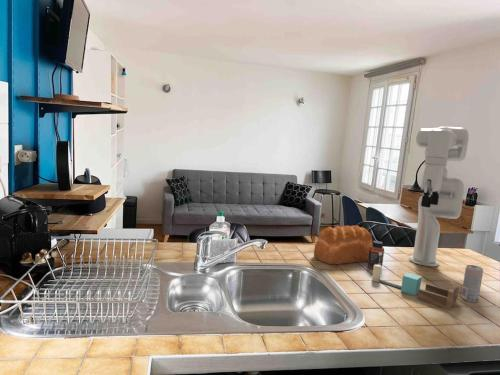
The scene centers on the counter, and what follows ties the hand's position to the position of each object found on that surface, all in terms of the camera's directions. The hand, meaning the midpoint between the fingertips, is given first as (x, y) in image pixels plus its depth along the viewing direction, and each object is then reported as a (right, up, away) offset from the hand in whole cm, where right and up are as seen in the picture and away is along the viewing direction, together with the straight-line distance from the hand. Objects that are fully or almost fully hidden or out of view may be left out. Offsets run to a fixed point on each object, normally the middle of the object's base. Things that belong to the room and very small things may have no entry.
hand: (429, 205), depth 146 cm
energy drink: (+9, -33, -12) cm, 36 cm away
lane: (-5, -32, -15) cm, 36 cm away
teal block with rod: (-16, -30, -5) cm, 34 cm away
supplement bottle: (-16, -28, +15) cm, 35 cm away
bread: (-28, -26, +24) cm, 45 cm away
